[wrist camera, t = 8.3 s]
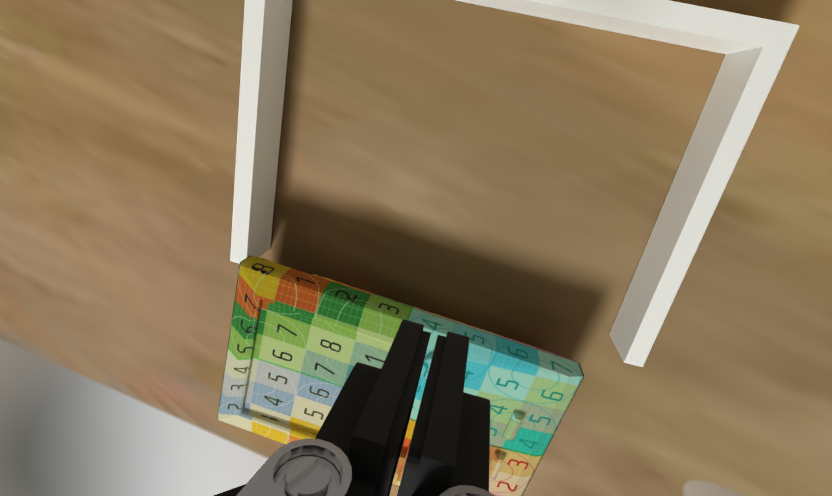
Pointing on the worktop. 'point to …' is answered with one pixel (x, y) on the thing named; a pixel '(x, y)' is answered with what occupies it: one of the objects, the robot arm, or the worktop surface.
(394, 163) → the worktop surface
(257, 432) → the puzzle game
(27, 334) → the worktop surface
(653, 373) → the worktop surface
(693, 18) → the frame
